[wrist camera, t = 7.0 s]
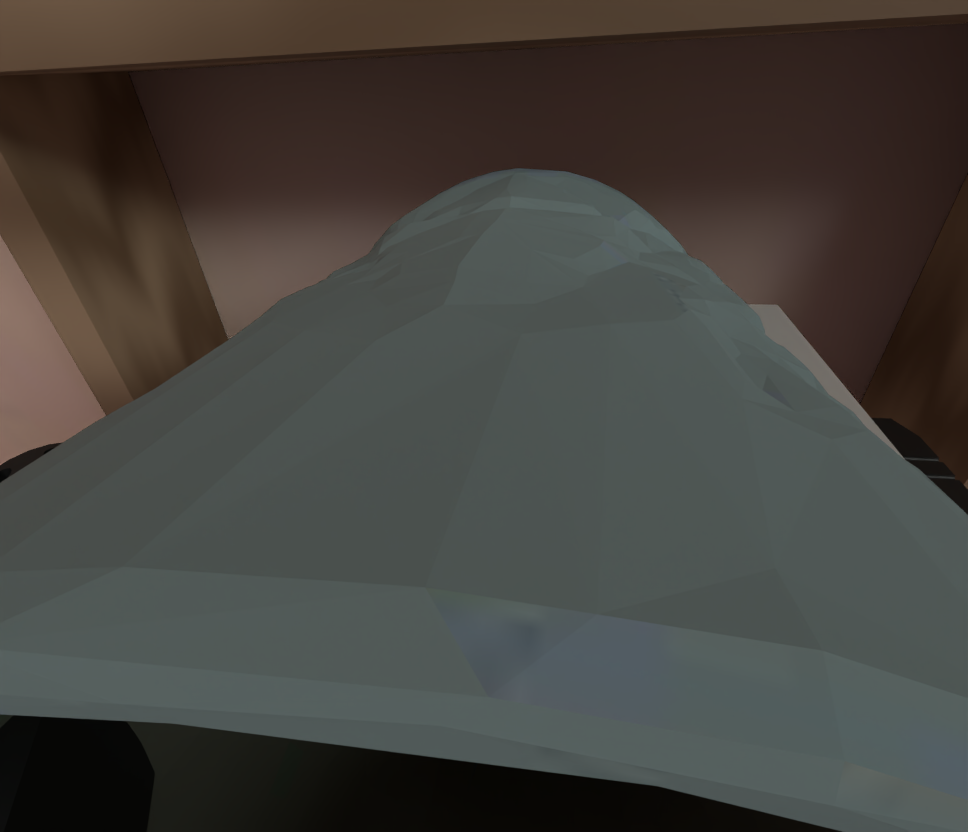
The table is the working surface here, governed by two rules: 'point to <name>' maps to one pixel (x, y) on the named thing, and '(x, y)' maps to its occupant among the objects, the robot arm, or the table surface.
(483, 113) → the table surface
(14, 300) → the table surface
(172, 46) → the frame
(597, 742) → the grey cup
